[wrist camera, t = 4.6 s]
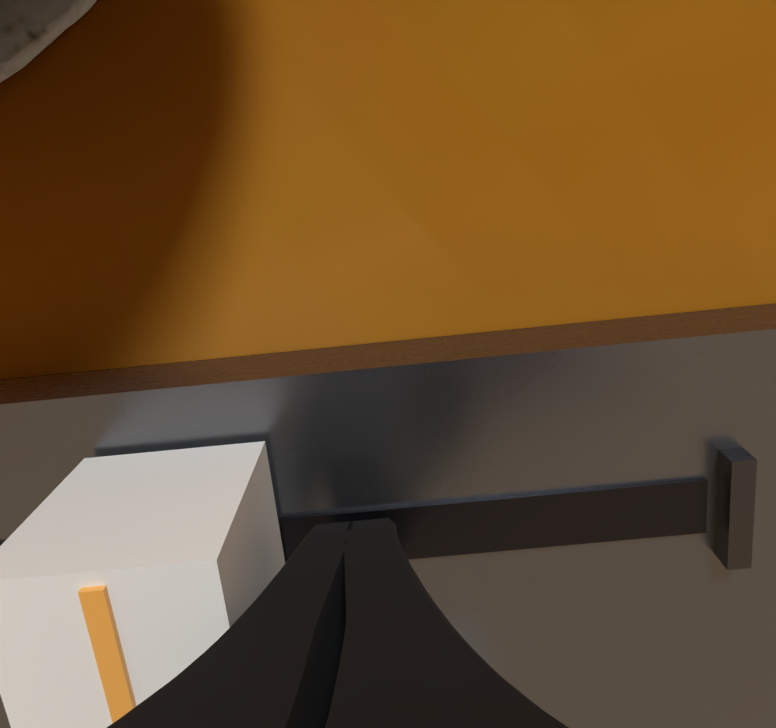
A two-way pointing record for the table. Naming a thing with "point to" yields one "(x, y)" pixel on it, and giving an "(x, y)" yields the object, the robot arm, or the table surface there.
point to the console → (502, 489)
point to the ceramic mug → (33, 28)
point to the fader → (131, 579)
